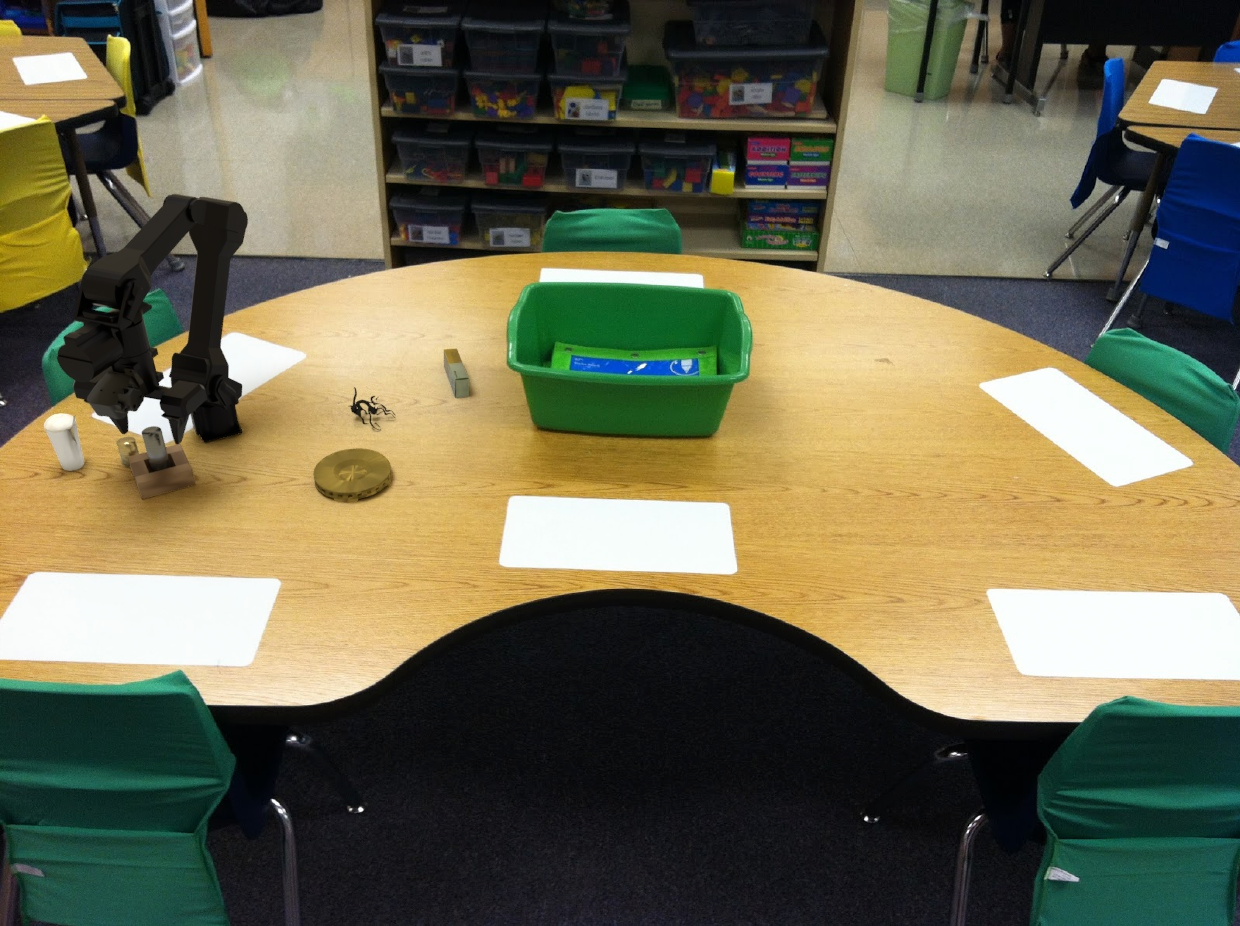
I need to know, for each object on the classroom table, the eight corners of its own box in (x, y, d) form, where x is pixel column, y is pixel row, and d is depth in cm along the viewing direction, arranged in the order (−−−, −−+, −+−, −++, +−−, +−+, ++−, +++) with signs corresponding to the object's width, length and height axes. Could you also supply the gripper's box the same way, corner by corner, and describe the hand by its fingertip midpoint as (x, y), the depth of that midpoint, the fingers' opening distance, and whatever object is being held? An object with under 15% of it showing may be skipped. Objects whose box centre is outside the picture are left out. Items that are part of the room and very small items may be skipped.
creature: (396, 412, 185) (351, 403, 184) (401, 387, 182) (355, 378, 181) (391, 437, 179) (344, 428, 177) (395, 411, 176) (348, 402, 174)
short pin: (139, 455, 169) (133, 434, 167) (142, 464, 168) (137, 443, 165) (120, 459, 168) (114, 439, 166) (124, 468, 166) (118, 448, 164)
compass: (300, 480, 166) (298, 469, 165) (362, 450, 174) (361, 439, 172) (344, 513, 160) (342, 502, 159) (407, 481, 167) (406, 470, 166)
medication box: (470, 397, 188) (469, 378, 186) (455, 399, 188) (454, 380, 185) (457, 365, 198) (456, 347, 195) (443, 367, 197) (442, 348, 195)
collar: (184, 458, 169) (180, 443, 167) (196, 484, 164) (192, 469, 162) (132, 472, 166) (127, 456, 164) (142, 499, 160) (137, 483, 158)
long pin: (171, 471, 166) (159, 424, 161) (175, 480, 164) (162, 433, 159) (152, 476, 165) (139, 429, 160) (156, 485, 163) (143, 438, 158)
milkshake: (82, 476, 164) (65, 423, 158) (51, 471, 165) (33, 418, 159) (99, 460, 168) (83, 407, 162) (69, 455, 169) (52, 403, 163)
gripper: (34, 365, 146) (63, 456, 155) (153, 386, 143) (176, 478, 152) (85, 329, 155) (110, 417, 164) (198, 348, 152) (217, 437, 161)
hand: (152, 438), depth 160 cm, fingers open, 9 cm apart
